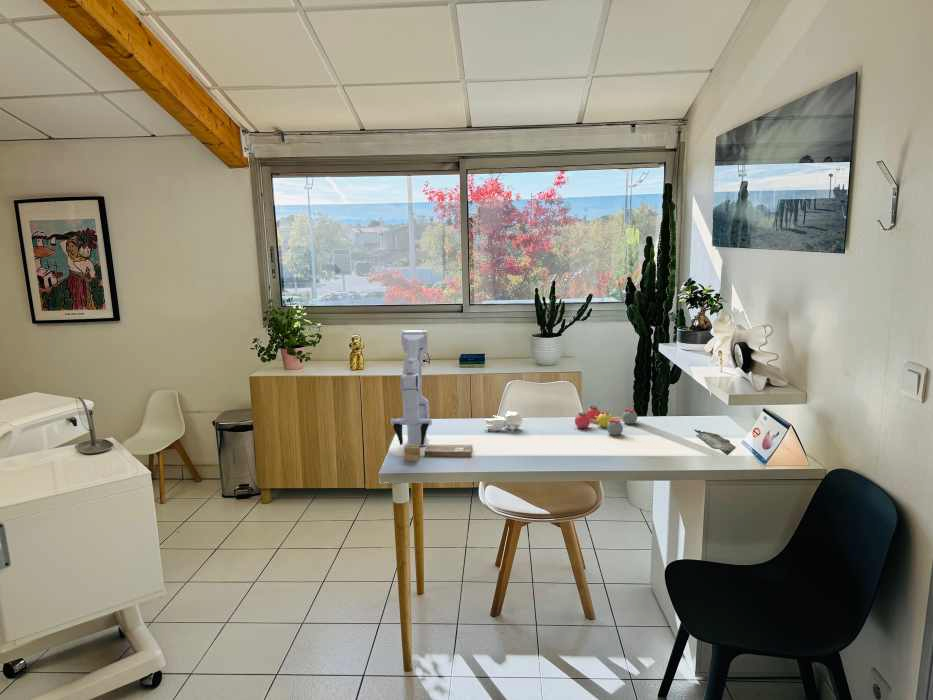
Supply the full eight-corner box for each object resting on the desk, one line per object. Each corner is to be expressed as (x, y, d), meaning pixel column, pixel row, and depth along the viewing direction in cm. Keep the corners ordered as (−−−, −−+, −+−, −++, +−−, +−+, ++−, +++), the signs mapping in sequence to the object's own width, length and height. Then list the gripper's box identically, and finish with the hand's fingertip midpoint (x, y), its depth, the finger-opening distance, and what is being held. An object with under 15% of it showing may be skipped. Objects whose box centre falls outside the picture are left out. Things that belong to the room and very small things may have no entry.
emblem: (687, 430, 265) (687, 428, 265) (711, 429, 265) (711, 428, 265) (721, 456, 233) (721, 454, 233) (748, 455, 234) (748, 453, 233)
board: (427, 449, 245) (427, 444, 245) (472, 449, 244) (472, 444, 244) (424, 456, 237) (424, 451, 237) (471, 456, 236) (471, 451, 236)
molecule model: (619, 438, 255) (620, 423, 254) (569, 431, 266) (569, 416, 265) (639, 423, 276) (639, 408, 275) (591, 416, 287) (591, 402, 286)
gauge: (407, 454, 240) (407, 441, 239) (421, 454, 239) (421, 441, 239) (404, 461, 233) (404, 447, 232) (418, 461, 232) (418, 447, 231)
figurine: (483, 410, 269) (518, 403, 269) (485, 419, 275) (519, 411, 275) (488, 432, 263) (524, 425, 263) (490, 441, 269) (525, 433, 269)
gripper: (388, 410, 228) (389, 447, 230) (429, 410, 227) (430, 447, 229) (392, 405, 235) (393, 441, 237) (432, 405, 234) (433, 441, 236)
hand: (411, 444), depth 233 cm, fingers open, 7 cm apart
